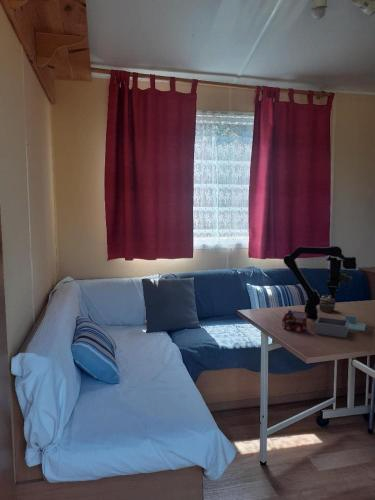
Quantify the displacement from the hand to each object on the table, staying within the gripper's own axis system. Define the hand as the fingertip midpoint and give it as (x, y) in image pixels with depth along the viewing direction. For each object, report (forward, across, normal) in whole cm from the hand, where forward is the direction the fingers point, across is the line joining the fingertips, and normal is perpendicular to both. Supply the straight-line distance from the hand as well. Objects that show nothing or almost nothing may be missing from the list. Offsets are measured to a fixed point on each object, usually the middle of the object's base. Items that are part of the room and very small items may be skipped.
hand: (334, 296), depth 197 cm
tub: (+13, -26, -2) cm, 29 cm away
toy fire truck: (+13, -30, +15) cm, 36 cm away
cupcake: (+13, +19, +6) cm, 24 cm away
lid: (+13, -11, -9) cm, 19 cm away
